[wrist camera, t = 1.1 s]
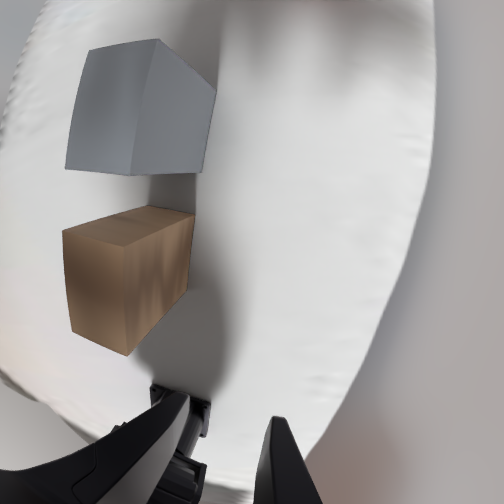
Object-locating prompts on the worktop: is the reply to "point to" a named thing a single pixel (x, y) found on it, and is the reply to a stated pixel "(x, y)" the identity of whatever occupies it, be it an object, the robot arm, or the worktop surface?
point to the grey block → (139, 112)
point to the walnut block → (126, 273)
